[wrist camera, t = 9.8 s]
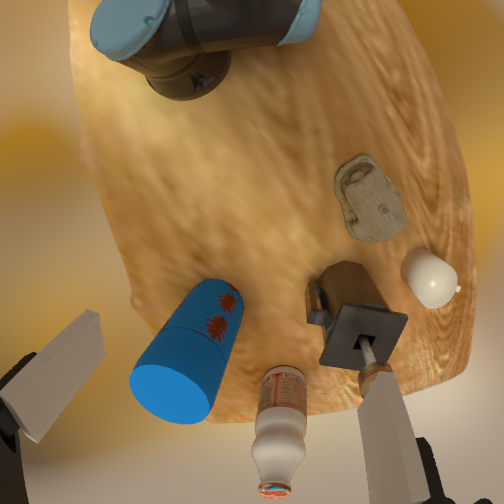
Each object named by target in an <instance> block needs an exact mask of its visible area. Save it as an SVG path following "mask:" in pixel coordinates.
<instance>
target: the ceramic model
mask: <svg viewBox="0 0 504 504" xmlns="http://www.w3.org/2000/svg"><path fill="white" fill-rule="evenodd" d="M334 188H335V194H336V196H337V198H338V200H339V201H340V203H341V205H342V210H343V213H344V217H345V223H346V227H347V229H348V231H349V233H350V235H351V236H352V237H353V238H355V239H359V240H361V241H364V242H367V243H374V242H378V241H387V240H391V239H393V238H394V237H395V236H397V235H398V234H399V233H400V232H401V231H402V230H403V229H404V228H405V227H406V223H407V218H406V214H405V213H404V210H403V208H402V205H401V197H400V193H399V192H398V190H397V188H396V187H395V186H394V184H393V183H392V181H391V180H390V179H389V178H388V177H387V176H386V174H384V173H383V171H382V170H381V168H380V167H379V166H378V165H377V164H376V163H375V162H373V160H372V159H371V157H369V156H367V155H360V156H358V157H356V158H355V159H353V160H352V161H350V162H348V163H347V164H345V165H344V166H343V167H342V168H340V170H339V172H338V173H337V175H336V177H335V186H334Z"/></svg>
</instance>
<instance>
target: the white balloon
mask: <svg viewBox="0 0 504 504" xmlns="http://www.w3.org/2000/svg"><path fill="white" fill-rule="evenodd" d="M400 274H401V278H402V280H403V281H404V283H405V284H406V285H407V286H408V287H409V288H410V290H411V291H412V292H413V293H414V294H415V296H416V297H417V298H418V299H419V301H420V302H421V303H422V304H423V305H424V306H425V307H427V308H430V309H436V308H439V307H442V306H443V305H445V304H446V303H447V302H448V301H449V300H450V299H451V298H452V296H453V295H454V293H455V291H456V292H459V290H460V288H461V287H460V286H459V285H458V284H457V275H456V272H455V270H454V269H453V268H452V267H451V266H449V265H448V264H447V263H445V262H444V261H443V260H441V259H440V258H439V257H437V256H436V255H434V254H433V253H432V252H430V251H429V250H427V249H425V248H416V249H414V250H412V251H410V252H409V253H408V254H407V255H406V256H405V257H404V259H403V261H402V263H401V268H400Z"/></svg>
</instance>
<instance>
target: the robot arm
mask: <svg viewBox="0 0 504 504" xmlns="http://www.w3.org/2000/svg"><path fill="white" fill-rule="evenodd" d="M320 9H321V0H102V2H101V3H100V4H99V5H98V7H97V9H96V11H95V13H94V15H93V18H92V21H91V25H90V39H91V42H92V44H93V46H94V47H95V48H96V50H98V51H99V52H101V53H102V54H104V55H106V57H108V58H109V59H110V60H112V61H116V62H119V63H121V64H123V65H125V66H127V67H130V68H132V69H134V70H136V71H138V72H140V73H142V74H144V75H145V77H146V79H147V81H148V83H149V85H150V86H151V87H152V89H153V90H155V91H156V92H157V93H159V94H160V95H162V96H164V97H166V98H169V99H172V100H178V101H185V100H191V99H195V98H198V97H201V96H203V95H205V94H207V93H208V92H210V91H211V90H213V89H214V88H215V87H216V86H217V85H218V84H219V83H220V82H221V81H222V79H223V78H224V76H225V75H226V73H227V71H228V68H229V65H230V60H231V53H230V50H231V49H239V48H249V47H260V46H275V47H277V46H281V45H283V44H295V43H302V42H305V41H307V40H309V39H310V38H311V37H312V36H313V34H314V33H315V30H316V28H317V25H318V21H319V16H320ZM105 357H106V352H105V346H104V341H103V335H102V329H101V324H100V317H99V313H97V312H93V311H90V310H88V309H87V310H85V311H84V312H83V313H82V314H81V315H80V316H79V317H77V318H76V319H75V320H74V321H73V322H72V323H71V324H70V325H69V326H67V327H66V328H65V329H64V330H63V331H62V332H61V333H60V334H58V335H57V336H56V337H55V338H54V339H53V340H52V341H51V342H50V343H49V344H48V345H47V346H45V347H44V348H43V349H42V350H41V351H40V352H39V353H38V354H37V353H35V352H32V353H30V354H28V355H26V356H24V357H23V358H22V359H21V360H20V361H19V362H18V364H16V365H15V366H14V367H13V368H12V370H10V371H9V372H8V373H6V374H5V375H4V377H2V378H1V380H0V504H29V502H28V497H27V492H26V487H25V481H24V475H23V468H22V461H21V452H20V440H19V433H18V429H19V428H21V429H22V431H23V432H24V433H25V435H26V436H28V437H29V438H30V439H32V440H33V441H34V442H36V443H37V444H38V443H39V441H40V440H41V439H42V437H43V436H44V435H45V433H46V432H47V431H48V429H49V428H50V427H51V425H52V424H53V423H54V421H55V420H56V419H57V417H58V416H59V415H60V414H61V412H62V411H63V410H64V408H65V407H66V406H67V404H68V403H69V402H70V400H71V399H72V398H73V397H74V395H75V394H76V393H77V392H78V390H79V389H80V388H81V387H82V385H83V384H84V383H85V382H86V380H87V379H88V378H89V377H90V375H91V374H92V373H93V372H94V371H95V369H96V368H97V367H98V366H99V364H100V363H101V362H102V361H103V360H104V358H105ZM357 412H358V418H359V424H360V430H361V436H362V442H363V449H364V457H365V464H366V472H367V480H368V490H369V499H370V504H455V502H454V501H453V500H452V499H450V498H447V497H445V495H444V492H443V488H442V484H441V480H440V476H439V473H438V469H437V466H436V462H435V459H434V458H433V452H432V449H431V446H430V445H429V443H428V442H427V441H426V439H425V438H424V437H422V438H415V435H414V432H413V429H412V426H411V422H410V419H409V416H408V413H407V410H406V407H405V404H404V401H403V398H402V395H401V392H400V389H399V386H398V384H397V381H396V378H395V375H394V373H393V372H380V371H379V373H378V374H377V376H376V378H375V380H374V382H373V384H372V385H371V387H370V389H369V391H368V393H367V394H366V396H365V398H364V399H363V401H362V403H361V404H360V406H359V408H358V409H357ZM474 504H493V503H492V502H491V501H490V500H489V499H486V498H484V499H480V500H478V501H477V502H475V503H474Z"/></svg>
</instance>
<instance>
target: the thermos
mask: <svg viewBox="0 0 504 504" xmlns="http://www.w3.org/2000/svg"><path fill="white" fill-rule="evenodd" d="M243 309H244V305H243V300H242V297H241V296H240V294H239V292H238V291H237V290H236V289H235V288H234V287H233V286H232V285H231V284H229V283H227V282H224V281H222V280H215V279H210V280H206V281H202V282H201V283H199V284H198V285H197V286H195V287H194V289H193V290H192V291H191V292H190V293H189V294H188V295H187V296H186V297H185V299H184V300H183V301H182V303H181V304H180V305H179V307H178V308H177V309H176V310H175V312H174V313H173V314H172V316H171V317H170V318H169V320H168V321H167V322H166V324H165V325H164V326H163V328H162V329H161V330H160V331H159V333H158V334H157V335H156V337H155V338H154V339H153V341H152V342H151V343H150V345H149V346H148V347H147V349H146V350H145V351H144V353H143V354H142V355H141V357H140V358H139V360H138V361H137V363H136V365H135V367H134V369H133V371H132V373H131V375H130V377H129V383H130V388H131V390H132V393H133V395H134V397H135V398H136V399H137V400H138V402H139V403H140V404H141V405H142V406H143V407H144V408H145V409H147V410H148V411H150V412H151V413H152V414H154V415H155V416H157V417H159V418H162V419H164V420H166V421H169V422H173V423H177V424H194V423H198V422H200V421H202V420H203V419H204V418H205V417H206V416H207V415H208V414H209V412H210V411H211V409H212V407H213V405H214V402H215V399H216V396H217V393H218V390H219V387H220V384H221V381H222V378H223V375H224V372H225V369H226V366H227V363H228V360H229V357H230V354H231V351H232V348H233V345H234V342H235V339H236V336H237V333H238V330H239V327H240V323H241V318H242V314H243Z"/></svg>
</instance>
